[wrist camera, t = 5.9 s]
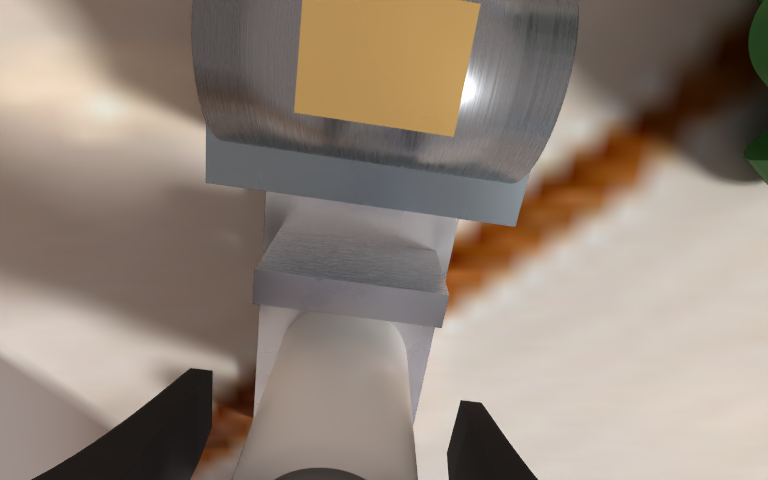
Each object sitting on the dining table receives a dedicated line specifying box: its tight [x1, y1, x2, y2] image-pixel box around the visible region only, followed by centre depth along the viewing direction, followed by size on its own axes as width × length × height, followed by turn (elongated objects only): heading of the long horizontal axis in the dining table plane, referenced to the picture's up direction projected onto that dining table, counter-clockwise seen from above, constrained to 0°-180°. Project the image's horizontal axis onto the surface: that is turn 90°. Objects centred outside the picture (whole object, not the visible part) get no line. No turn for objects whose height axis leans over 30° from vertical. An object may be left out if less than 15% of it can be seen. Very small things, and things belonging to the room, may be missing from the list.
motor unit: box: [192, 0, 579, 424], centre depth 12 cm, size 17×7×7 cm, turn 172°
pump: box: [232, 311, 418, 480], centre depth 13 cm, size 4×4×7 cm
